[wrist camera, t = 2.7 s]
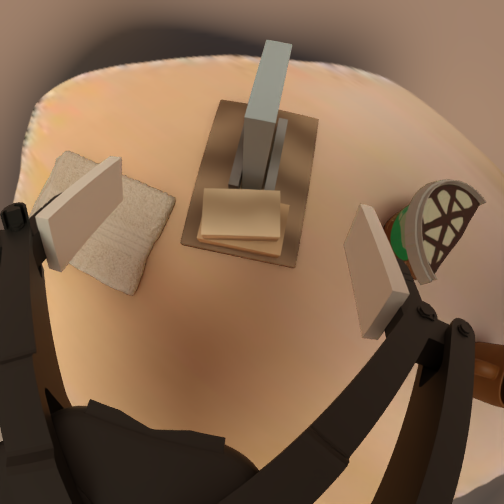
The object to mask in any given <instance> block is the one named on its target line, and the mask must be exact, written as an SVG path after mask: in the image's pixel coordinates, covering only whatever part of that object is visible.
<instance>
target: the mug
mask: <svg viewBox="0 0 504 504" xmlns="http://www.w3.org/2000/svg"><path fill="white" fill-rule="evenodd" d="M473 398H476V399H478V400H481V401H483V402H486V403H488V404H491V405H494V406H497V407H502V408H504V345H499V344H491V343H484V342H477V343H475V369H474V387H473Z"/></svg>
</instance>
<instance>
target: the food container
mask: <svg viewBox="0 0 504 504" xmlns="http://www.w3.org/2000/svg"><path fill="white" fill-rule="evenodd" d="M484 203H486V201H485V199H484V198H483V197H482V196H481V195H480V193H479V192H478V191H477V190H475V189H474V188H473V187H472V186H470V185H468V184H466V183H464V182H461V181H457V180H450V179H447V180H440V181H435V182H431V183H428V184H426V185H425V186H423V187H422V188H421V189H420V190H419V191H418V192H417V193H416V194H415V196H414V197H413V198H412V200H411V203H410V204H409V205H408V206H407V207H405V208H404V209H402V210H401V211H400V212H398V213H397V214H395V215H394V216H393V217H391V218H390V219H389V220H388V221H387V223H386V224H385V226H384V228H383V230H384V232H385V234H386V236H387V239H388V241H389V243H390V246H391V248H392V250H393V253H394V255H395V257H396V258H399V259H402V260H403V261H404V263H405V264H406V265H407V266H408V268H409V270H410V273H411V276H412V277H413V279H417V280H418V281H419V283H420V284H421V285H423V284H426V283H430V282H431V281H432V280H437V278H436V276H435V275H434V274H435V273H436V271H437V269H438V268H439V266H440V265H441V263H442V262H443V261H444V259H445V258H446V256H447V255H448V254H449V252H450V251H451V250H452V249H453V247H454V246H455V245H456V243H457V242H458V241H459V239H460V238H461V237H462V235H463V233H464V231H465V229H466V227H467V225H468V223H469V222H470V220H471V218H472V217H473V215H474V213H475V212H476V210H477V208H478V206H480V205H482V204H484Z"/></svg>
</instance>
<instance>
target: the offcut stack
mask: <svg viewBox="0 0 504 504" xmlns="http://www.w3.org/2000/svg"><path fill="white" fill-rule="evenodd" d="M289 206H290V205H287V204H282V203H280V191H273V190H250V189H215V188H204V195H203V210H202V218H201V222H200V226H199V231H198V235H197V239H198V240H199V242H200V243H205V244H210V245H215V246H220V247H224V248H229V249H234V250H239V251H244V252H248V253H253V254H258V255H263V256H268V257H272V258H278V257H279V256H280V255H281V250H282V244H283V239H284V234H285V228H286V223H287V217H288V212H289Z"/></svg>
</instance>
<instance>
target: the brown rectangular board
mask: <svg viewBox="0 0 504 504" xmlns="http://www.w3.org/2000/svg"><path fill="white" fill-rule="evenodd" d="M247 106H248V104H245V103H239V102H233V101H227V100H221V101H220V104H219V107H218V110H217V113H216V116H215V119H214V123H213V126H212V129H211V132H210V135H209V139H208V142H207V145H206V149H205V152H204V155H203V159H202V162H201V166H200V169H199V173H198V176H197V180H196V184H195V187H194V191H193V195H192V199H191V202H190V206H189V210H188V214H187V218H186V222H185V226H184V230H183V234H182V238H181V244H182V245H186V246H190V247H195V248H200V249H205V250H209V251H214V252H219V253H224V254H228V255H233V256H238V257H243V258H248V259H252V260H257V261H262V262H267V263H272V264H277V265H282V266H286V267H291V268H294V267H295V265H296V260H297V255H298V249H299V244H300V238H301V232H302V226H303V221H304V215H305V209H306V203H307V196H308V190H309V184H310V177H311V171H312V164H313V157H314V150H315V143H316V136H317V128H318V121H319V119H316V118H312V117H308V116H304V115H299V114H295V113H291V112H286V111H282V110H278V114H277V119H276V124H275V128H274V133H273V137H272V142H271V147H270V151H269V156H268V160H267V165H266V170H265V174H264V179H263V184H262V188H261V190H273V191H280V203H282V204H287V205H290V206H289V212H288V217H287V223H286V228H285V234H284V239H283V244H282V250H281V255H280V256H279V257H278V258H272V257H268V256H263V255H258V254H253V253H248V252H244V251H239V250H234V249H229V248H224V247H220V246H215V245H210V244H205V243H200V242H199V240H198V239H197V235H198V231H199V226H200V222H201V218H202V210H203V195H204V188H215V189H242V172H243V141H244V117H245V113H246V109H247Z"/></svg>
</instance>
